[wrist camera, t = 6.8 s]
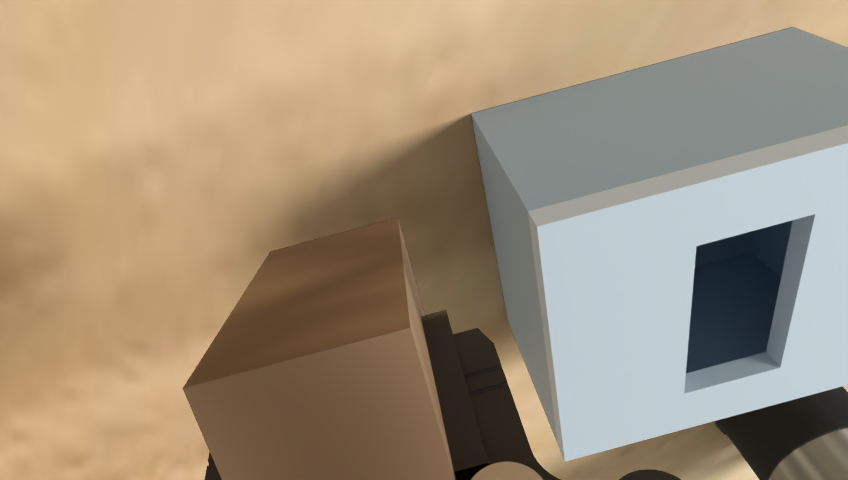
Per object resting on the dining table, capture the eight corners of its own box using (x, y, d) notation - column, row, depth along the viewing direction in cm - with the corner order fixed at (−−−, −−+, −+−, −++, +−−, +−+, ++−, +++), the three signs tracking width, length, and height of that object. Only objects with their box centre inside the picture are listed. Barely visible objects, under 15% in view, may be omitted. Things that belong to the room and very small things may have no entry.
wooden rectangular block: (397, 217, 13) (409, 328, 7) (458, 436, 15) (508, 667, 9) (270, 251, 13) (182, 388, 7) (345, 466, 15) (323, 716, 9)
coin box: (793, 26, 28) (994, 103, 19) (756, 253, 36) (887, 374, 28) (471, 113, 27) (536, 226, 19) (507, 320, 36) (564, 461, 27)
